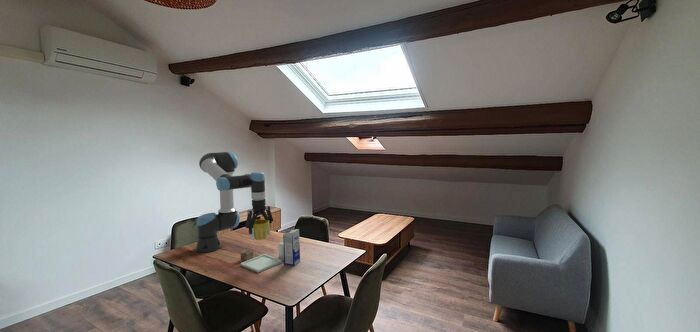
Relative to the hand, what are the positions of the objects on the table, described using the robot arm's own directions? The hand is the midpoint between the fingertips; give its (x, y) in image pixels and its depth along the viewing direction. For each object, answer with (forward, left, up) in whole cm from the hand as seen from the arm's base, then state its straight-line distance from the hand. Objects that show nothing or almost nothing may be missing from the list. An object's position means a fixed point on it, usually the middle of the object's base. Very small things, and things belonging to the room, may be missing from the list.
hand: (260, 236), depth 168 cm
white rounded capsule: (+4, +14, -16) cm, 22 cm away
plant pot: (0, 0, -1) cm, 1 cm away
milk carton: (+14, +11, -17) cm, 24 cm away
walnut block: (-13, -1, -17) cm, 21 cm away
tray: (0, 0, -16) cm, 16 cm away
